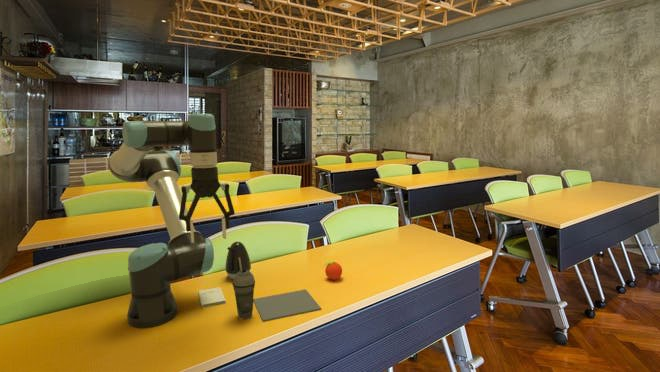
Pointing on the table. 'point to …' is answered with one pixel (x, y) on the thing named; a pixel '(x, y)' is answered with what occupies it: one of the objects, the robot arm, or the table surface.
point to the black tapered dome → (237, 259)
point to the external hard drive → (211, 297)
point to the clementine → (333, 270)
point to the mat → (285, 305)
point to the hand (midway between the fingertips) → (208, 239)
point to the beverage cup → (244, 292)
